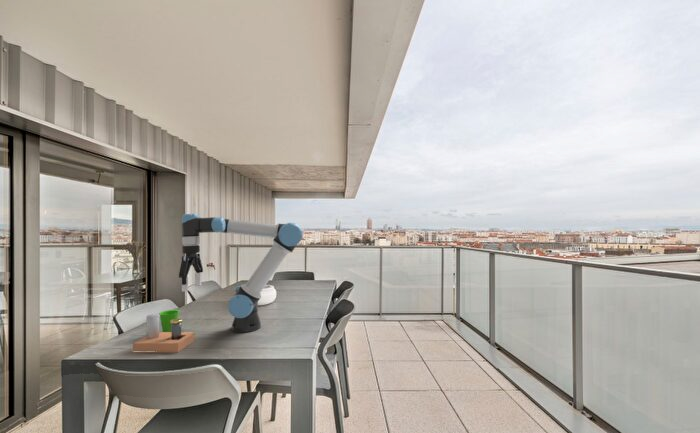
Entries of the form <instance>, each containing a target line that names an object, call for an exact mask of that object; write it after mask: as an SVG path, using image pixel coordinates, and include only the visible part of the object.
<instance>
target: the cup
mask: <svg viewBox="0 0 700 433" xmlns="http://www.w3.org/2000/svg"><path fill="white" fill-rule="evenodd" d="M179 314H180V310H179V309H170V310H169V309H168V310H163V311H160V312H159V319H160V322H161V329H162V332H171V327H172V324H171V320H173V319H177V318H178V317H179Z"/></svg>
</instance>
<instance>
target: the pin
mask: <svg viewBox="0 0 700 433" xmlns="http://www.w3.org/2000/svg"><path fill="white" fill-rule="evenodd" d="M183 320H184V319H183V318H181V317H179V318H177V319H173V320H171V324H172V327H171V340H179V339H181V332H182V323H183V322H184V321H183Z"/></svg>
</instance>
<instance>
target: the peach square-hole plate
mask: <svg viewBox="0 0 700 433" xmlns="http://www.w3.org/2000/svg"><path fill="white" fill-rule="evenodd" d="M145 329H146V331H145V336H144V337H142V338H139V340H137V341H133V343H132V352H133V351H155V352H154V353H179V352H181V351H182V350H184V349H185V348H186V347H187V345H188V346H189V345H190V344H192V343H193V342H194V341H195V340H196V335H195V334H196V332H195V331H181V339H179V340H171V332H163V331H160V315H159V314H158V313H154V314H153V313H151V314H148V315H146V328H145ZM191 342H192V343H191ZM156 351H157V352H156Z"/></svg>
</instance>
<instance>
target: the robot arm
mask: <svg viewBox="0 0 700 433" xmlns="http://www.w3.org/2000/svg"><path fill="white" fill-rule="evenodd" d="M181 217H182V219H181V236H182V238H181V241H182V242H181V243H182V254H184V255H185V256H184V255H183V256H181V263H180V268H179V272H178V278H180V279H181V292H183V293H184V292H189V277H188V275H189V272H190V270H191V267H193V270H194V287H196V286H202V273H204V268H203V264H202V260H201V254H200V252H201V251H200V250H201V249H200V248H201V247H200V243H201V242H200V240H201V239H200V234H202V233H204V234H205V233H207V234H208V233H224V234H231V235H232V234H234V235H241V236H250V237H251V236H252V237H259V238H269V239H273V240H272V241H273V243H272V244H273V245H272V246H271V248H270V249H269V251H267V254H265V256H264V257H263V259H262V260H261V262H260V263H259V265H257V268H256V269H255V270H254V272H253V273H252V274H251V276H250V277H249V279H248V281H246V283H244V284H241V285H237V286H236V287H235V290H234V291H235V294H234V295H233V296H232V297H231V298H230V299H229V301H228V305H227V308H228V312H229V314H230V315H231V316H233V321H232V323H231V330H232V332H235V333H250V332H254V331H257V330H259V329H261V327H262V323H261V322H262V321H261V319H260V318H261V317H260V315H259V312H258V310H259V301H260V300H261V298H262V294H261V292H262V291H263V289H265V287H266V285H267V284H268V282H270V279H271V278H272V276H273V275H274V273H276V271H277V270H278V268H279V267H280V265H281V264H282V263H283V261H284V259H285V258H286V257H287V255H288V254H291V253H293V251H295V249H296V247H297V246H298V244H300V242H301V241H302V240H303V234H304V233H303V230H302V227H301V226H300V225H299V224H296V223H295V222H287V223H277V224H271V223H262V222H255V221H254V222H253V221H245V220H239V219H238V220H236V219H228V218H224V217H222V216H221V217H219V216H214V217H200V215H199V214H198V213H185V214H183V215H182V216H181Z"/></svg>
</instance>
